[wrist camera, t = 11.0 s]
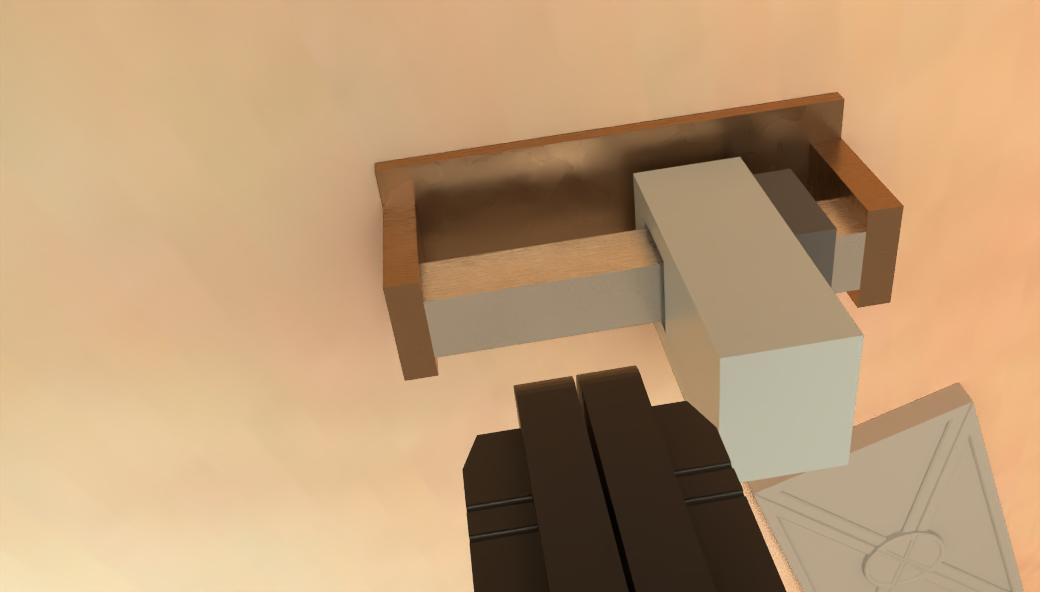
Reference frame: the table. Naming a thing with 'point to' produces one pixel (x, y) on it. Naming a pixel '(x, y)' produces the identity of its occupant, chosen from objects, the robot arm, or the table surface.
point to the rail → (596, 225)
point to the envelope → (898, 508)
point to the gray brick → (802, 217)
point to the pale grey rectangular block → (750, 321)
